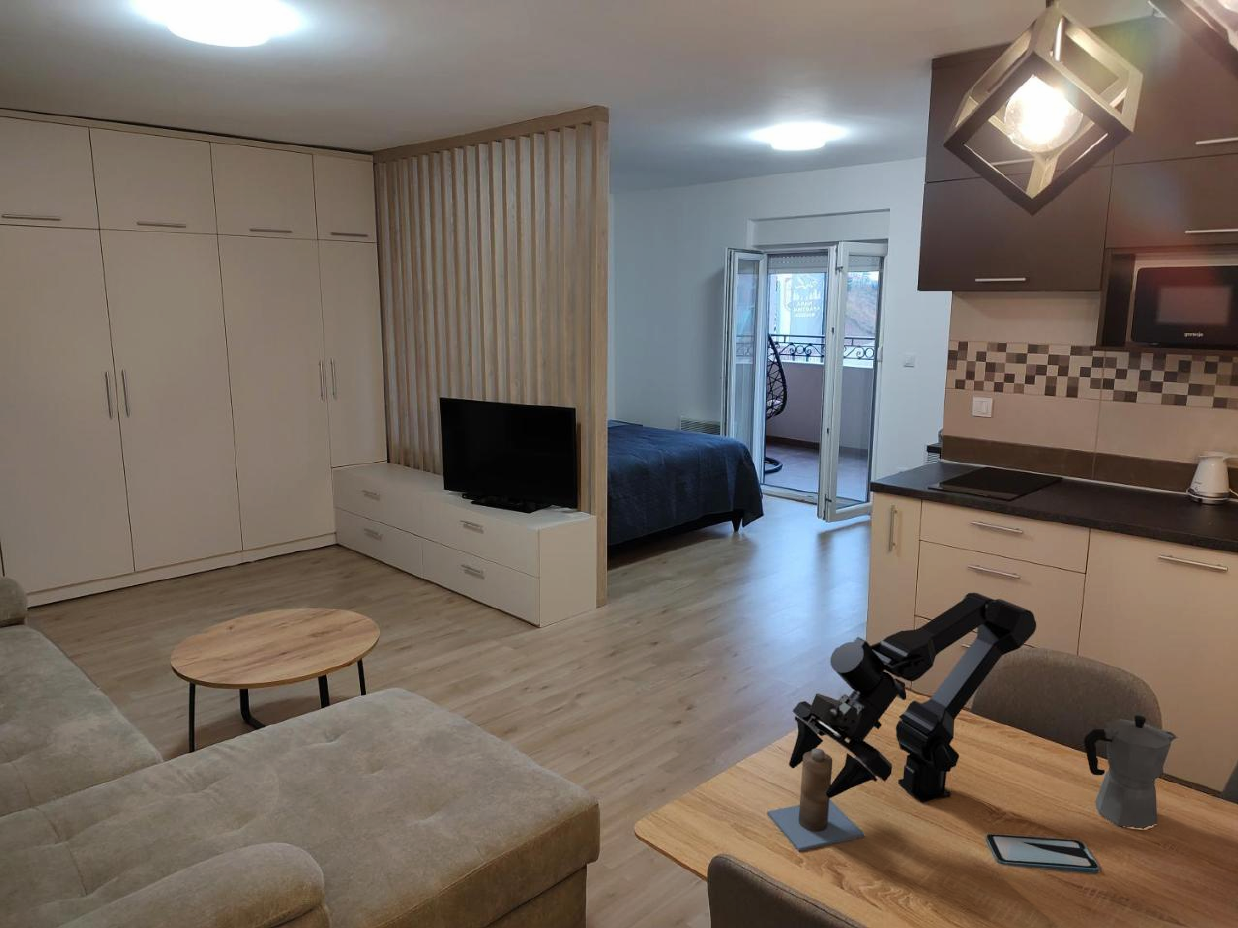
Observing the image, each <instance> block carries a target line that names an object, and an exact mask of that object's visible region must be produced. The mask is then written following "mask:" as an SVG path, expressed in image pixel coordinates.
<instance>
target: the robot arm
mask: <svg viewBox="0 0 1238 928" xmlns="http://www.w3.org/2000/svg"><path fill="white" fill-rule="evenodd" d="M976 629H977V631H976V632H977V633H976V634H977V635H976V637H975V639H974V641H972V643H971V644H970V645H969V647H968V648H967V650H966V651H965V652H964V653H963V655H962V656H961V658H960V659H959V660H958V661H957V663H956V664H955V666H953V668H952V670H951V671H950V672H949V674H948V675H947V676H946V677H945V679H944V680H943V681H942V683H941V684H940V685H939V687H937V689H936V690H935V692H934V693H933V695H931V698H930V699H928V700H926V701H922V702H919V701H917V700H916V699H915V700H912V701H911V702H910V703H909V705H908V706H907V708H906V709H905V710H904V712H903V713H902V714H901V715H899V716H898V717H899V720H898V722H897V724H896V726H895V732H896V734H895V736H896V740H897V742H898V746H899V749H900V750H902V751H904V752H906V753H907V755H906V761H905V764H904V767H903V775H902V776H903V777H902V778H901V779H898V785H900V786H901V787H902V788H903V789H904V790H906V791H907V792H908V793H909V794H911V796H913V797H914V799H916V800H917V801H919V802H920V803H926V802H929V801H935V800H940V799H945V798H950V797H951V796H952V795H951V794H952V792H950V791H949V790H948V789H947V788H946V780H947V773H949V772H951V769H952V768H956V766H957V764H958V761H959V758H960V755H959V753H958V752H957V751H956V750H955V749H954V748H953V747H952V746H951V745H950V744H951V743H952V741H953V739H954V738H955V737H954V734H955V732H954V731H955V720H956V718H957V716H959V714H960V712H961V711H962V710H963V709H964V708H965V706H966V705H967V703H968V702H969V700H970V699H971V698H972V696H973V695H974V694H975V692H976V691H977V690H978V689H979V687H980V686H981V684H982V683H983V682H984V680H985V679H986V678H987V676H988V675H989V674H990V672H991V671H992V669H994V667H995V666H996V664H997V663H998V662H999V661H1000V658H1001V657H1003V656H1004V655H1005V654H1008V653H1011V652H1013V651H1016V650H1019V649H1020V648H1022V646H1024V645H1025V644H1026V642H1027V641H1028V640H1029V639H1030V638H1031V637H1032V636H1033V635H1034V633H1035V631H1036V629H1037V621H1036V619H1035V615H1034V612H1032V611H1031V610H1030V609H1027V608H1024V607H1021V606H1020V605H1017V604H1014V603H1012V602H1009V601H1006V600H1004V599H1001V598H996V599H994V598H990V597H989V596H985V595H983V594H980V593H978V592H968V593H967V594H966V595H965V596H964V597H963V599H962V600H961V601H959V602H958V603H956V604H955V605H954V606H952V607H951V608H948V609H947V610H946V611H944V612H942V613H941V614H939V615H938V616H936V617H934V618H933V619H931V620H930V621H927V622H926V623H925V624H923V625H921V626H920V627H918V628H916V629H907V630H906V629H905V630H900V631H898V632H896V633H893V634H891V635H888V636H887V637H885V638H884V639H883V640H881V641H879V642H877V643H874V644H871V645H870V643H869V642H868V641H867V640H865V639H864V638H861V637H859V636H857V637H856V639H854V640H853V641H849V642H846V643H845V642H844V643H843V644H841V645H840V646H839V647H836V648H835V649H834V651H832V653H831V656H830V660H829V661H830V666H831V668H832V670H834V672H836V673H837V674H838V675H839V677H840V678H841V679H842V680H843V681H844V682H845V683H846V684H847V685H848V686H849V688H851V689H852V690H853V691H852V692H851V694H850V695H849V696H848V695H847V694H846V693H844V694H843V695H840V697H839V699H835V698H833V697H830V696H828V695H824V694H821V693H818V692H817V693H815V695H814V698H813V701H812V703H811V704H810V703H809V702H808V701H805V700H804V701H799V702H798V703H797V704H796V706H795V707H794V708H793V709H792V712H793V714H794V715H795V716H794V721H796V722H797V723H796V724H797V736H796V741H795V743H794V747H793V750H792V752H791V756H790V759H789V763H788V766H789V767H790V768H791V769H795V768H796V767H798V766H799V765H800V764H801V763H803V755H804V754H805V753H806V752H809V751H812V750H813V749H818V747H819V746H820V745H821V744H823V742H824V740H823V739H822V738H821V737H823V736H828V737H829V738H830V739H832V740H833V741H835V742H836V743H837V744H839V745H840V746H842V747H843V748H845V749H846V750H848V751H849V752H850V753H852V755H854V756H855V757H853V756H852V755H851V754H849V753H846V756H845V762H844V766H843V768H842V769H841V770H840V772H839V773H838V774H837V775H836V777H835V778H834V780H832V781H831V785H830V787H829V788H828V790H827V792H826V796H827V797H829V798H830V799H833V798H834V797H836V796H837V795H840V794H842V793H845V792H846V791H848V790H850V789H852V788H855V787H856V786H860V785H862V784H864V783H868V782H870V781H873V782H875V783H876V782H877V781H878V779H880V780H881V781H883V782H884V783H885V782H887V780H888V778H889V777H890V776H891V775H892V769H893V764H892V762H890V760H888V759H887V758H886V757H885V756H884V754H883V753H882V752H880V750H878V749H877V748H875V747H874V746H872V745H871V744H869V743H868V742H866V741H865V739H866V738H867V736H868V735H869V734H870V733H871V731H872V729H873V728H874V729H877V730H880V728H881V727H882V725H883V724H882V723H881V721H880V719H881V718H882V716H883V715H884V714H885V713H886V711H887V709H889V707H890V705H891V704H892V703H893V702H894V701H895V700H896V697H897V698H899V699H901V700H902V701H906V700H907V692H906V683H905V682H904V681H903V680H905V681H907V682H912V683H913V682H915V681H917V680H919V679H920V678H921V677H923V676H924V674H926V673H927V672H928V671H930V670H931V668H933V666H934V663H935V659H936V656H938V655H939V654H940V653H941V652H942V651H943V650H946V649H947V648H948V647H950V646H952V645H953V644H954V643H956V642H957V641H959V640H961V639H962V638H963V637H965V636H966V635H968V634H970V633H971V632H972V631H974V630H976ZM893 676H895V677H896V678H895V677H893ZM898 678H901V679H903V680H901V679H898ZM846 739H847V740H849V741H847V740H846Z"/></svg>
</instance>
